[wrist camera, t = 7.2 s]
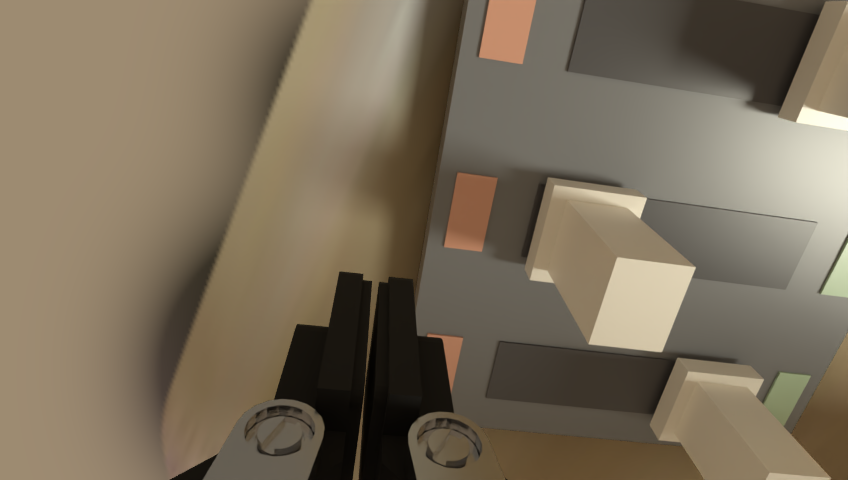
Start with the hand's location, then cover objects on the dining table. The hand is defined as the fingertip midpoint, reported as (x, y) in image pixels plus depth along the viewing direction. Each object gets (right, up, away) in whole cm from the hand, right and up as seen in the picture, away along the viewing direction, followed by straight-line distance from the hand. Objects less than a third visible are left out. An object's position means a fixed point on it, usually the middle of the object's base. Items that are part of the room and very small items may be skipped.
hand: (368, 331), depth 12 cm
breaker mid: (+8, +2, +9) cm, 12 cm away
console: (+11, +3, +11) cm, 16 cm away
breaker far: (+14, -5, +13) cm, 20 cm away
